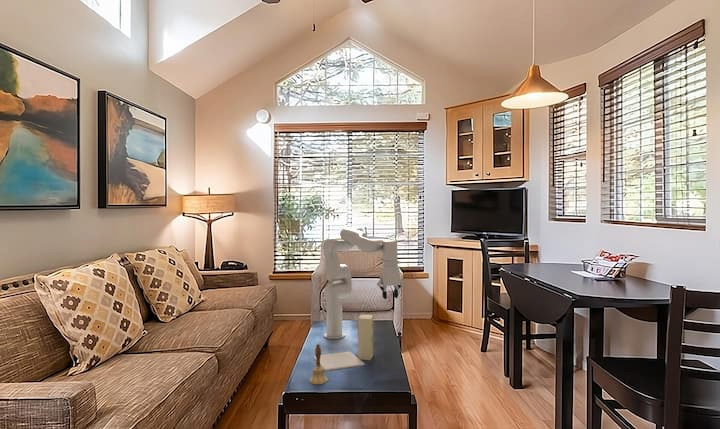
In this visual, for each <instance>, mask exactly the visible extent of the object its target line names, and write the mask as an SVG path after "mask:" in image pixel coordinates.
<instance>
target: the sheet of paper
mask: <svg viewBox="0 0 720 429" xmlns="http://www.w3.org/2000/svg"><path fill="white" fill-rule="evenodd" d="M313 359H314V360H315V361H316V355H313ZM362 366H365V362H363V361H362V360H360V359H358V356H356V355H355V354H354V353H353V352H352V351H351V350H350V351H343V352H334V353H327V354H321V356H320V367H322V368H323V370H324V372H327V371H328V372H329V371H334V370H341V369H349V368H354V367H362Z"/></svg>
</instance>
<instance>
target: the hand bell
mask: <svg viewBox="0 0 720 429" xmlns="http://www.w3.org/2000/svg"><path fill="white" fill-rule="evenodd" d="M314 352H315V353H314V356H316V360H315V361H316V363H315V365H316V366H315V367H314V368H313V369H312V375H311V377H310V378H309V381H308V382H309V383H310V384H312V385H323V384H326V383H328V381H329V379H328V377H327V376H326V374H325V371H324V369H323V368H322V367H321V366H320V356H321V355H322V348H321V346H320V344H316V345H315V350H314Z"/></svg>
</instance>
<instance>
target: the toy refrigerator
mask: <svg viewBox="0 0 720 429" xmlns="http://www.w3.org/2000/svg"><path fill="white" fill-rule="evenodd" d="M374 329H375V321H374V315H373V314H360V315H359V316H358V320H357V358H358V359H360V360H361V361H362V360H363V361H371V360H372V358H373V356H374V338H375V336H374Z"/></svg>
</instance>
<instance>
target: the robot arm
mask: <svg viewBox="0 0 720 429" xmlns="http://www.w3.org/2000/svg"><path fill="white" fill-rule="evenodd" d="M339 232H340V233H339V236H332V237H328V238H326V239H325V240H324V241H323V245H322V250H323V255H324V260H325V261H324V263H325V264H324V265H325V275H326V280H328V282H335V283H330V284H328V285H326V286H325V288H324V298H325V303H326V304H325V305H326V311H325V312H326V332H325V333H323V336H324V338H325V339H329V340H338V339H343V338H344V337H346V333H345V332H343V305H342V303H341V300H340V299H346V298H348V297H349V298H350V296H351V295H352V291H353V287H352V286H353V283H352V272H351V269H350V266H348V265H347V264H344V263H343V264H340V257H339V255H338V251H341V252H342V251H348V250H351V249H353V248H354V247H355V246H356V247H357V248H358V250H360V251H362V252H364V253H366V254H370V255H373V254H374V255H375V254H382V266H381V268H380V272H379V273H380V275H379V281H378V282H377V283H376V286H377V287H378V288H379V289H380V290H381V292H382V294H381V295H382V298H383V299H384V300H387V299H388V295H387V294H388V292H387V288H388V286H389V287H391V286H392V287H393V288H394V290H393V298H396V299H398V297H399V291H400V289H401V288H402V286H403V285H404V281H403V280H402V279H401V273H400V268H399V265H400V260H398V242H397V240H395V239H385V238H380V239H379V238H375V239H374V238H373V239H370V238H368V235H367V233H365V231H364V230H363V229H362V228H361V227H359V226H347V227H344V228H342V229H341V230H340V231H339ZM337 281H338V282H337Z"/></svg>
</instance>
